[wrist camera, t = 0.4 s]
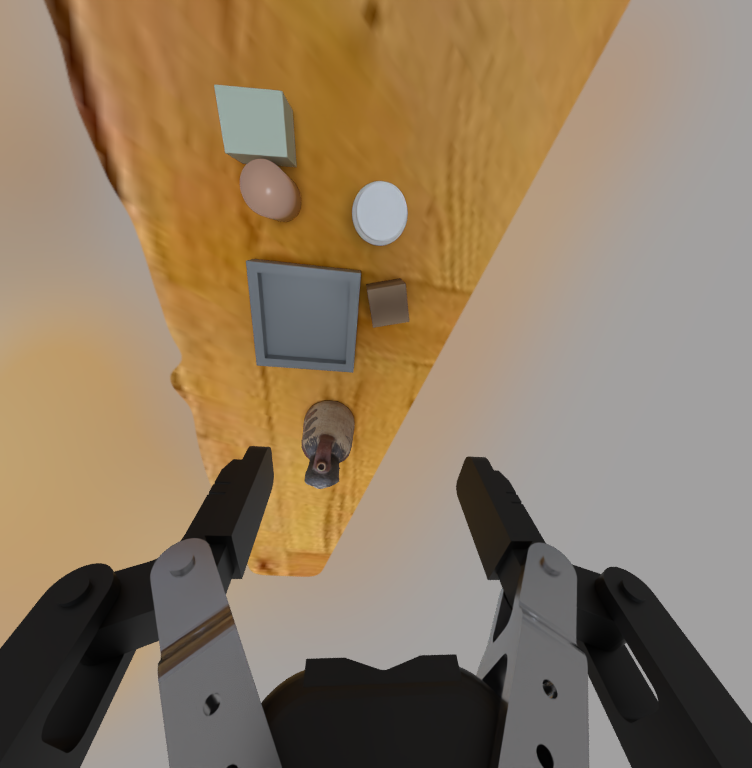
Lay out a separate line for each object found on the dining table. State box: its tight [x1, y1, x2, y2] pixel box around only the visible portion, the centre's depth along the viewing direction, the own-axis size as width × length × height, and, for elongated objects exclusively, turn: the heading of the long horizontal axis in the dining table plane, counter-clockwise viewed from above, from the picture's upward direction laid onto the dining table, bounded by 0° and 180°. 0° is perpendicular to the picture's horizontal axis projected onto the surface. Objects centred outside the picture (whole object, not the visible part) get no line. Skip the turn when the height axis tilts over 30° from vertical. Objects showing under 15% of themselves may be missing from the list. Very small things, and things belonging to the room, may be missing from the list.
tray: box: [246, 259, 361, 372], centre depth 32 cm, size 12×12×2 cm
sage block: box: [214, 85, 297, 167], centre depth 24 cm, size 4×5×4 cm
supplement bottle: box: [352, 181, 408, 246], centre depth 25 cm, size 5×5×8 cm
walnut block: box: [366, 278, 409, 328], centre depth 31 cm, size 4×4×4 cm
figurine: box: [302, 401, 354, 489], centre depth 35 cm, size 7×7×12 cm
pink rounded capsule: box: [240, 159, 301, 222], centre depth 25 cm, size 4×4×5 cm
